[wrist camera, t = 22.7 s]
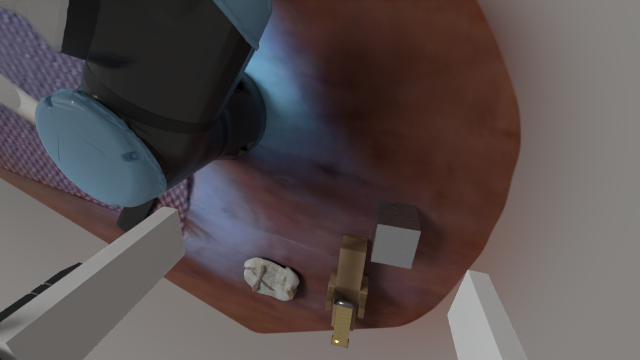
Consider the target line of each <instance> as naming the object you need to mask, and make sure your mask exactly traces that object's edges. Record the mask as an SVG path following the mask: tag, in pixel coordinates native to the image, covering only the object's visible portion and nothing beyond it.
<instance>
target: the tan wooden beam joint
mask: <svg viewBox="0 0 640 360" xmlns="http://www.w3.org/2000/svg"><path fill="white" fill-rule="evenodd" d="M367 241H368V238H363V237H357V236H352V235H346V234H343V238H342V242H341V247H340V254H339V263H338V270H334V269H332V272H331V276H330V280H329V284H328V293H327V298H326V304H325V310H328V311H331V306H332V302H333V298H334V300H335V298H336V299H340V300H345V301H349V302H354V303H357V305H358V304H359V307H358V316H357V317H359V318H363V317H364V311H365V304H366V298H367V293H368V280H369V277H368V276H363V269H364V264H365V258H366V251H367ZM336 310H337V305H335V304H334V306H333V315H332V324H331V326H334V325H335V318H336ZM356 310H357V307H356V309H353V310H352V317H351V323H350V330H351V331H353V328H354V322H355V316H356Z"/></svg>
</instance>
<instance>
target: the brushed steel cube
mask: <svg viewBox="0 0 640 360" xmlns="http://www.w3.org/2000/svg"><path fill="white" fill-rule="evenodd" d="M420 234H421V228H420V223H419V218H418V213H417V208H416V206H411V205H404V204H398V203H391V202H385V201H379V202H378V208H377V213H376V219H375V225H374V230H373V238H372V252H371V261H372V262H377V263H383V264H388V265H393V266H398V267H403V268H408V269H411V266H412V263H413V259H414V255H415V252H416V248H417V244H418V241H419V237H420Z"/></svg>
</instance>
